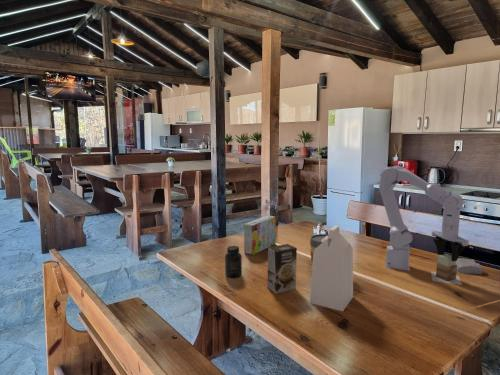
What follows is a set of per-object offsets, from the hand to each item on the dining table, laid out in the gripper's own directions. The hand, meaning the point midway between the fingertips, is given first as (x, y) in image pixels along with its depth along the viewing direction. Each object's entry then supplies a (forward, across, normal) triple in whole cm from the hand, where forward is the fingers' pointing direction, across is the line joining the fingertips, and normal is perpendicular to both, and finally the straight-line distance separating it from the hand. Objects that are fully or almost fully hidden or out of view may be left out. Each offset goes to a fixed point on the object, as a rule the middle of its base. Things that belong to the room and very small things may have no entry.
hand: (447, 258), depth 138 cm
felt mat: (+9, 0, 0) cm, 9 cm away
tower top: (+5, 0, 0) cm, 5 cm away
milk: (+9, +3, +52) cm, 53 cm away
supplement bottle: (+9, +36, +77) cm, 86 cm away
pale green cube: (+2, 0, 0) cm, 2 cm away
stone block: (+9, +4, -16) cm, 19 cm away
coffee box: (+9, +18, +64) cm, 67 cm away
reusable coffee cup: (+9, +24, +41) cm, 48 cm away
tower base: (+8, 0, 0) cm, 8 cm away
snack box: (+9, +63, +53) cm, 83 cm away
